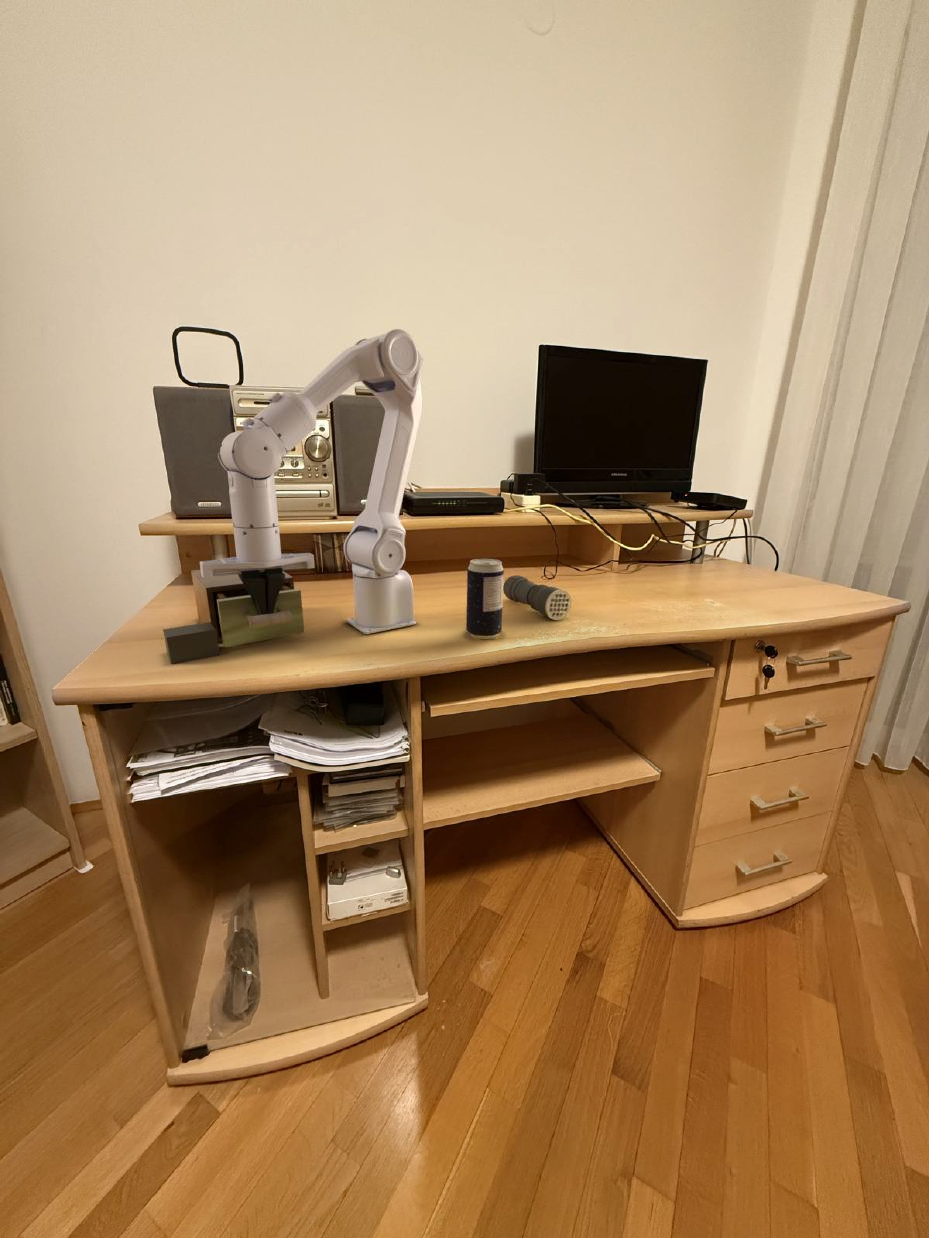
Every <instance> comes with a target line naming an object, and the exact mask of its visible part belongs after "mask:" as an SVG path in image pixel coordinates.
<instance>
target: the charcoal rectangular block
mask: <svg viewBox="0 0 929 1238" xmlns="http://www.w3.org/2000/svg"><path fill="white" fill-rule="evenodd" d="M162 632H163V637H164V643H165V648H166V654H167V656H168V659H169V662H170V665H173V664H178V663H182V662H183V663H184V662H189V661H193V660H199V659H204V658H211V657H214V656H220V647H219V643H218V640H217V633H216V629H215V628H214V626H213V625H212V623H211V622H207V623H201V622H200V623H196V624H188V625H182V626H177V627H170V628H164V629H162Z"/></svg>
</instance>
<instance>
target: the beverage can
mask: <svg viewBox="0 0 929 1238" xmlns="http://www.w3.org/2000/svg"><path fill="white" fill-rule="evenodd" d="M502 564H503V562H502V561H501V560H499V559H495V558H475V559H471V560H470V561H469V564H468V567H467V570H466V623H465V630H466V631H467V633H468V634H470V636H471V637H472V638H474V639H476V640H477V639H478V640H491V639H494V638H496V637H497V636H498V635H499V634H500V633H501V632H502V631H503V630H502V627H503V605H504V604H503V603H504V591H503V586H504V583H505V580H504V579H505V569H504V567H503V565H502Z"/></svg>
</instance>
